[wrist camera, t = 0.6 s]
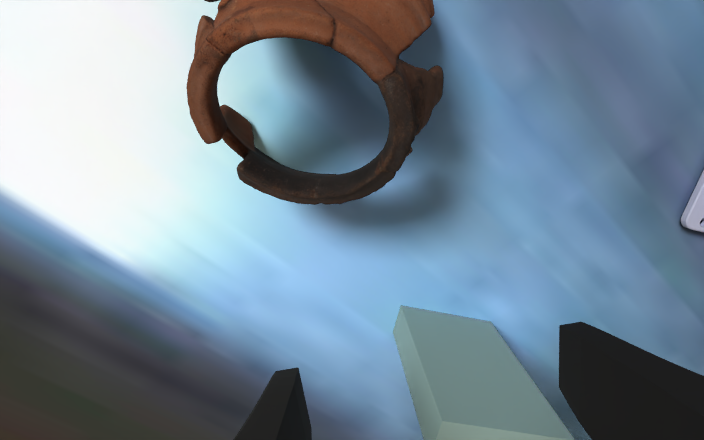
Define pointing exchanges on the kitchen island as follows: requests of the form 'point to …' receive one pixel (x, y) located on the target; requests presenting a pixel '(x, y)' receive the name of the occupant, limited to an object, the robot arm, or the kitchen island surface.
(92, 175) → the kitchen island surface
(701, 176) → the robot arm
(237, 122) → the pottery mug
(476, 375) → the domino
